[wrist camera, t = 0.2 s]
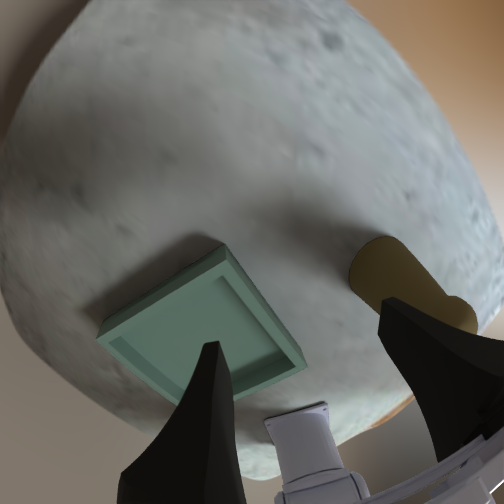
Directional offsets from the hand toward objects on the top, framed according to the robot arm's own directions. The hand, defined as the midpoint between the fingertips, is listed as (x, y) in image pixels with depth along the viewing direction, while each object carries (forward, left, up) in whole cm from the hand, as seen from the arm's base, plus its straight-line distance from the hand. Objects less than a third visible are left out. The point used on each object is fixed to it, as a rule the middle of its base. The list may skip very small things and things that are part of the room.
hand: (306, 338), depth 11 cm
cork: (-5, -9, -10) cm, 14 cm away
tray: (-7, +7, -10) cm, 14 cm away
